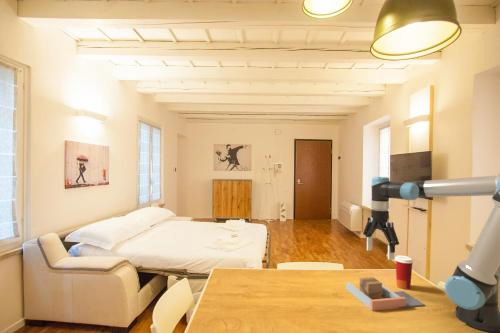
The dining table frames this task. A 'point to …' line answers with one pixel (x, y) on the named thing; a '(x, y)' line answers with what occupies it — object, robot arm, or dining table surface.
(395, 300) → the channel
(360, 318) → the dining table surface
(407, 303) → the coaster
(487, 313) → the robot arm
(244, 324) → the dining table surface
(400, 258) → the coffee cup
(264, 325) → the dining table surface
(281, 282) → the dining table surface
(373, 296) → the block
